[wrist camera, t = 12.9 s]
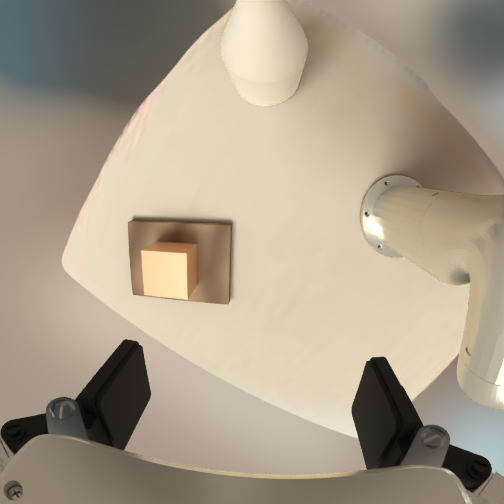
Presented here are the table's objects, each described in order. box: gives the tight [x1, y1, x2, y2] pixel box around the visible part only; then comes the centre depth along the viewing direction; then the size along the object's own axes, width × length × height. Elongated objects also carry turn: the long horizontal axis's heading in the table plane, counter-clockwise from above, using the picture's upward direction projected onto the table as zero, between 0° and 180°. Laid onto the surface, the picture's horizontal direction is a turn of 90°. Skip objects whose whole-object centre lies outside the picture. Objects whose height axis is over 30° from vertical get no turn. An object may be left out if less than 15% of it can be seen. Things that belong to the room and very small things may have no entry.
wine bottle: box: [220, 0, 308, 106], centre depth 22 cm, size 10×10×30 cm
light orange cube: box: [141, 241, 197, 300], centre depth 40 cm, size 6×6×6 cm
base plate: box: [128, 220, 232, 304], centre depth 41 cm, size 16×12×5 cm
